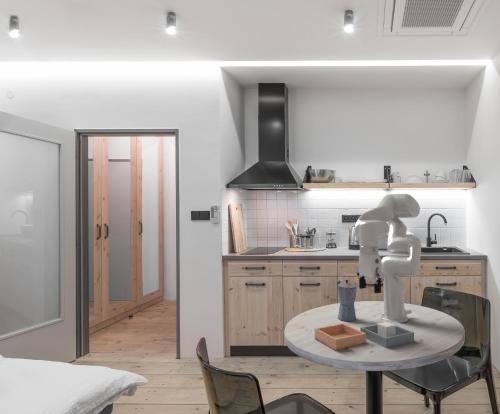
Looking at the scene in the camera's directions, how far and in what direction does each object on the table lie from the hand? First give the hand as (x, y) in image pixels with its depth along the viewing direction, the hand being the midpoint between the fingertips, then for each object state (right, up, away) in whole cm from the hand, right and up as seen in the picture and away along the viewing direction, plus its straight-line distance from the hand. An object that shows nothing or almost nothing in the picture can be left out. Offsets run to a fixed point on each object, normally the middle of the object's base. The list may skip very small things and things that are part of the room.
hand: (369, 290), depth 157 cm
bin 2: (+6, -21, -2) cm, 22 cm away
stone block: (+6, -20, -2) cm, 21 cm away
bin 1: (-13, -21, -2) cm, 25 cm away
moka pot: (-3, -21, +29) cm, 36 cm away
